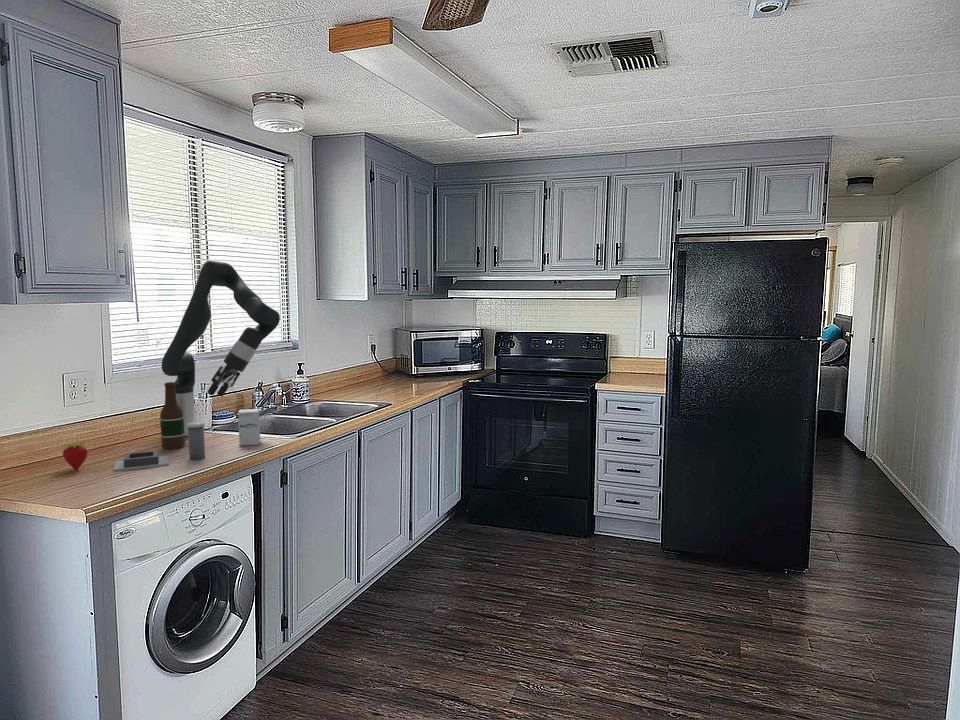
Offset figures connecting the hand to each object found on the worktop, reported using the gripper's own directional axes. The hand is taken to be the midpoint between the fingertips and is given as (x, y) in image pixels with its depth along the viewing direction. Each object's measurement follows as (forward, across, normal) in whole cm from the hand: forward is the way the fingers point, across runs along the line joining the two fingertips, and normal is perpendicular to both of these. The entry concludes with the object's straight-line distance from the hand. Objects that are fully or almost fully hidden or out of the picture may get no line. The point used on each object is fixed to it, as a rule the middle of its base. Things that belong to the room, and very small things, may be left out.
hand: (214, 394), depth 237 cm
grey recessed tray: (+30, +10, -4) cm, 32 cm away
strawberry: (+41, +16, -19) cm, 48 cm away
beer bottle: (+26, -14, -7) cm, 30 cm away
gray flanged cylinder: (+21, +3, +8) cm, 22 cm away
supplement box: (+11, -19, +15) cm, 26 cm away
